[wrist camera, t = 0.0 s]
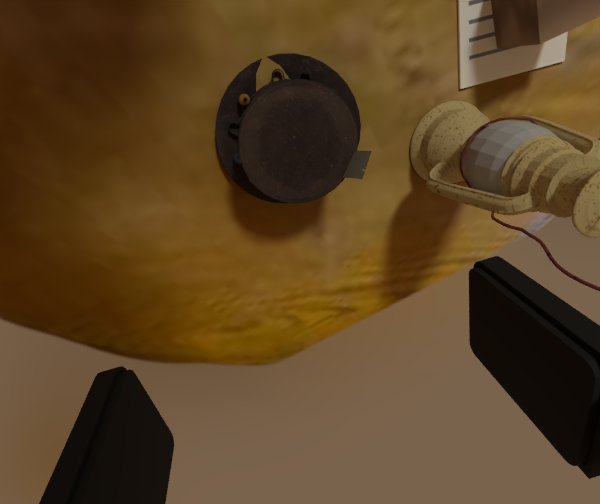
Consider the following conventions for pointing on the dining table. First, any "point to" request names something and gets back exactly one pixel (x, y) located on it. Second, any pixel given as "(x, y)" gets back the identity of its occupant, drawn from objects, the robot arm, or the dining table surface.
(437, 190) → the lantern
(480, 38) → the letter
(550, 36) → the walnut block
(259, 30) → the dining table surface
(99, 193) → the dining table surface
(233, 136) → the top hat
